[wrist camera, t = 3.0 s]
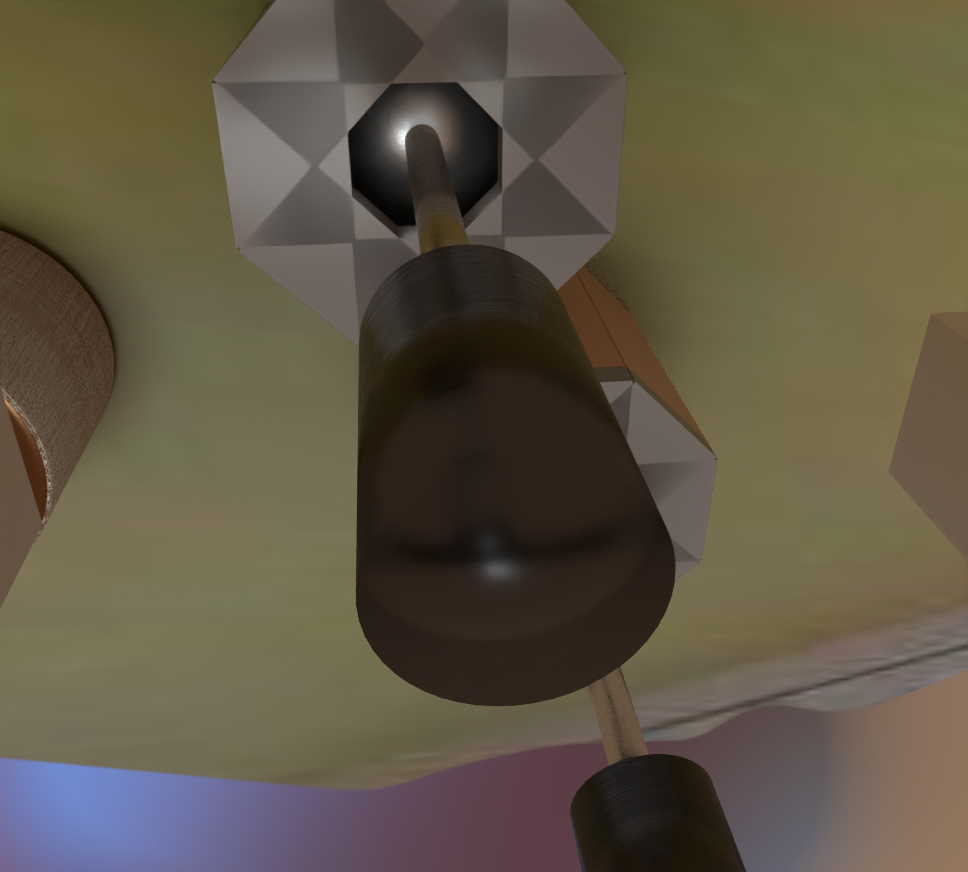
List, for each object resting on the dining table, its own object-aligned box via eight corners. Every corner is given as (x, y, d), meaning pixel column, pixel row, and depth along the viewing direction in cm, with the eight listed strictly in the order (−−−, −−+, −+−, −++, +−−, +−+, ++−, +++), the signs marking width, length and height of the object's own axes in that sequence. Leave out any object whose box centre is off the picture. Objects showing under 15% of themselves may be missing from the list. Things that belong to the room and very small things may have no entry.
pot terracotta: (386, 253, 38) (394, 393, 28) (634, 243, 39) (730, 375, 29) (400, 506, 44) (411, 695, 34) (612, 493, 45) (683, 672, 35)
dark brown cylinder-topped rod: (262, -16, 24) (26, 243, 7) (564, -19, 25) (982, 208, 8) (295, 274, 28) (193, 862, 11) (552, 264, 29) (811, 801, 12)
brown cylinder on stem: (429, 382, 31) (507, 998, 14) (663, 370, 31) (1006, 940, 15) (436, 569, 35) (502, 1216, 18) (642, 555, 36) (890, 1163, 19)
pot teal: (237, -168, 30) (172, -188, 20) (554, -166, 31) (647, -185, 21) (282, 218, 37) (250, 351, 26) (541, 209, 38) (607, 334, 27)
